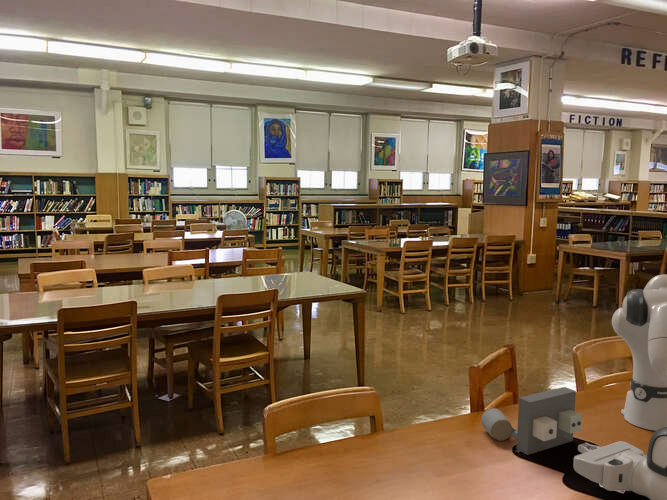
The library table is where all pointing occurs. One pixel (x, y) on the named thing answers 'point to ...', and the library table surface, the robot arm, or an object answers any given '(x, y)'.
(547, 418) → the one dot button
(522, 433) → the button panel
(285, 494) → the library table surface
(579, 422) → the two dot button
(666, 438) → the robot arm
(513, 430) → the ceramic mug
